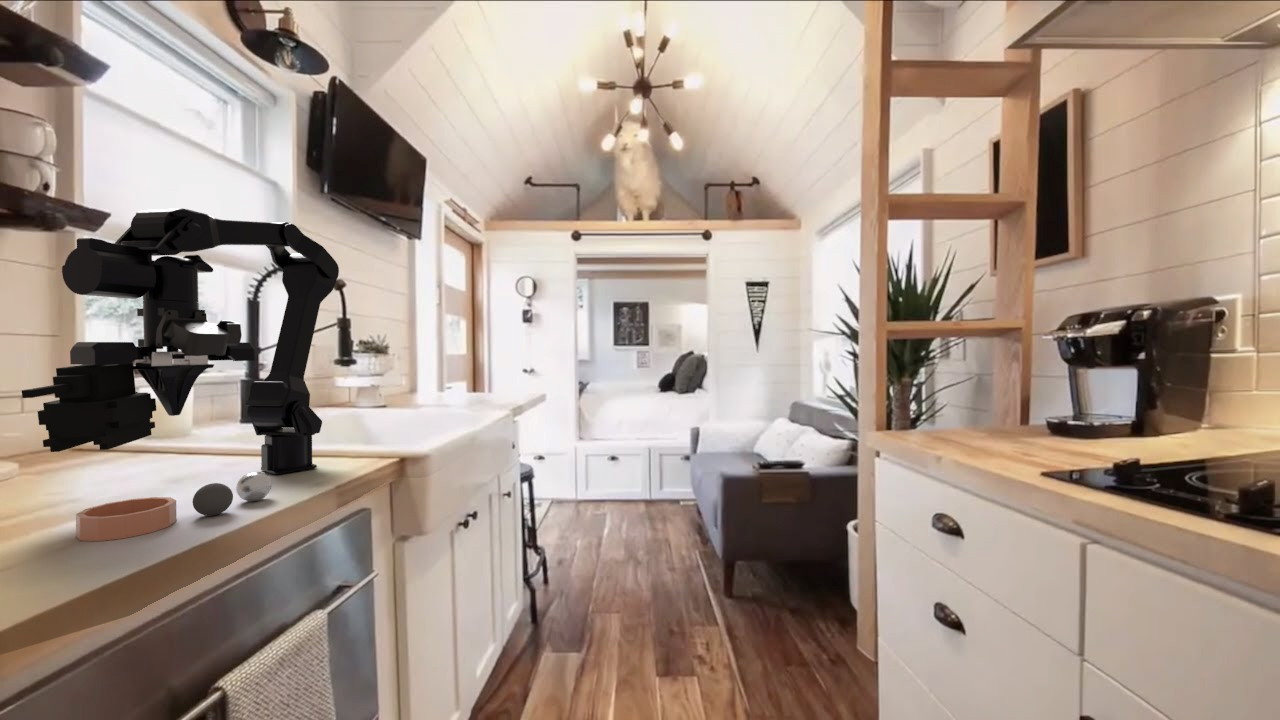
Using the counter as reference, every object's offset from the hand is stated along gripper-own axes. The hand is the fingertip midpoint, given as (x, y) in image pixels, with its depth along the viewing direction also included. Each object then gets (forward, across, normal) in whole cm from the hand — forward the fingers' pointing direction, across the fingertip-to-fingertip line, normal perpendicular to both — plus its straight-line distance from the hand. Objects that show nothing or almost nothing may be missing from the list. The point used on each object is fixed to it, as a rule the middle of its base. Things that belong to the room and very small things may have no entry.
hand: (174, 415), depth 73 cm
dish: (+12, -9, -8) cm, 17 cm away
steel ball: (+10, +4, -10) cm, 15 cm away
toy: (+3, -9, +1) cm, 9 cm away
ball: (+10, -2, -11) cm, 15 cm away
